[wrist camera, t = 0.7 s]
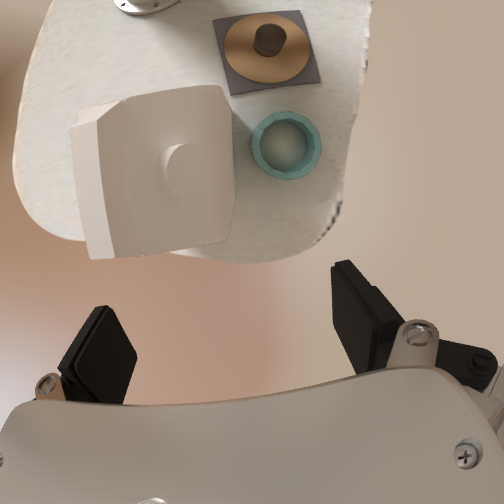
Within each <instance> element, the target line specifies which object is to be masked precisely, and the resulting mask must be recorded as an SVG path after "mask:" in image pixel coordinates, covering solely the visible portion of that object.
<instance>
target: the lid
mask: <svg viewBox="0 0 504 504" xmlns="http://www.w3.org/2000/svg"><path fill="white" fill-rule="evenodd" d="M224 51H225V56H226V59H227V61H228V63H229V64H230V66H231V67H232V68H233V69H234V70H235V71H236V72H237V73H238V74H240V75H241V76H243V77H244V78H246V79H248V80H251V81H254V82H258V83H265V84H273V83H280V82H283V81H287V80H289V79H291V78H293V77H294V76H296V75H297V74H298V73H299V72H300V71H301V70H302V69H303V68H304V66H305V65H306V63H307V61H308V58H309V43H308V40H307V38H306V36H305V34H304V32H303V31H302V30H301V29H300V28H299V27H298V26H297V25H296V24H295V23H293V22H292V21H290V20H289V19H287V18H284V17H282V16H279V15H275V14H267V13H262V14H254V15H250V16H247V17H245V18H242V19H241V20H239V21H238V22H236V23H235V24H234V25H233V26H232V27H231V28H230V29H229V31H228V33H227V35H226V37H225V42H224Z"/></svg>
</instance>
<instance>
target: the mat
mask: <svg viewBox="0 0 504 504" xmlns="http://www.w3.org/2000/svg"><path fill="white" fill-rule="evenodd" d="M265 13H267V14H275V15H279V16H282V17H284V18H287V19H289V20H290V21H292V22H293V23H295V24H296V25H297V26H298V27H299V28H300V29H301V30H302V31H303V32H304V34H305V36H306V38H307V40H308V43H309V58H308V61H307V63H306V65H305V66H304V68H303V69H302V70H301V71H300V72H299V73H298V74H297V75H296V76H294V77H293V78H291V79H289V80H287V81H283V82H280V83H273V84H265V83H258V82H254V81H251V80H248V79H246V78H244V77H243V76H241V75H240V74H238V73H237V72H236V71H235V70H234V69H233V68H232V67H231V66H230V64H229V63H228V61H227V59H226V56H225V51H224V42H225V37H226V35H227V33H228V31H229V29H230V28H231V27H232V26H233V25H234V24H235V23H236V22H238V21H239V20H241V19H242V18H245V17H247V16H250V15H254V14H248V15H241V16H235V17H229V18H223V19H218V20H213V24H214V28H215V32H216V36H217V40H218V44H219V48H220V52H221V57H222V61H223V65H224V69H225V73H226V78H227V82H228V86H229V90H230V95H235V94H240V93H246V92H251V91H257V90H263V89H269V88H276V87H283V86H291V85H300V84H310V83H320V78H319V74H318V70H317V66H316V62H315V58H314V55H313V51H312V48H311V44H310V41H309V38H308V34H307V31H306V28H305V25H304V22H303V19H302V16H301V13H300V10H294V11H276V12H265ZM256 14H262V13H256Z"/></svg>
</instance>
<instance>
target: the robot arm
mask: <svg viewBox="0 0 504 504" xmlns="http://www.w3.org/2000/svg"><path fill="white" fill-rule="evenodd" d="M178 1H179V0H114V3H115V4H116V6H117V7H118V8H119V9H120V10H122V11H123V12H125V13H128V14H134V15H143V14H149V13H154V12H157V11H160V10H163V9H165V8H167V7H169V6H171V5H173V4H175V3H177V2H178ZM331 285H332V310H333V325H334V328H335V330H336V332H337V334H338V336H339V338H340V341H341V343H342V345H343V347H344V349H345V351H346V353H347V355H348V357H349V360H350V362H351V364H352V366H353V368H354V370H355V372H356V375H354V376H349V377H346V378H341V379H337V380H334V381H329V382H325V383H321V384H317V385H312V386H308V387H303V388H298V389H294V390H288V391H283V392H278V393H272V394H267V395H260V396H254V397H247V398H240V399H231V400H223V401H213V402H201V403H188V404H164V405H124V404H123V401H124V398H125V395H126V392H127V388H128V386H129V382H130V379H131V376H132V373H133V371H134V368H135V364H136V362H137V353H136V351H135V350H134V348H133V346H132V344H131V343H130V341H129V339H128V337H127V335H126V334H125V332H124V330H123V328H122V326H121V324H120V322H119V320H118V318H117V317H116V314H115V312H114V310H113V309H111V308H110V307H109V306H107V305H105V306H98V307H95V308H94V310H93V311H92V313H91V314H90V316H89V318H88V319H87V320H86V322H85V323H84V325H83V326H82V328H81V329H80V331H79V333H78V334H77V336H76V337H75V339H74V341H73V342H72V344H71V345H70V347H69V349H68V350H67V352H66V354H65V356H64V357H63V359H62V360H61V362H60V364H59V366H58V370H59V371H60V372H61V374H62V375H61V377H60V376H59V375H58V374H56V373H49V374H47V375H45V376H44V377H42V378H41V379H40V380H39V381H38V383H37V385H36V388H35V394H36V398H35V399H33V400H31V401H28V402H25V403H22V404H20V405H18V406H17V407H15V408H14V409H13V411H12V412H11V413H10V415H9V417H8V419H7V420H6V422H5V424H4V426H3V428H2V430H1V432H0V504H504V365H503V366H502V367H500V366H498V362H497V359H496V357H495V356H494V355H493V354H492V353H491V352H490V351H489V350H487V349H484V348H479V347H475V346H470V345H465V344H460V343H455V342H450V341H446V340H442V339H439V332H438V330H437V328H436V327H435V326H434V325H433V324H432V323H429V322H428V321H425V320H418V319H415V320H410V321H407V322H405V321H404V319H403V318H402V317H401V315H400V314H399V313H398V312H397V311H396V309H395V308H394V307H393V306H392V304H391V303H390V302H389V301H388V300H387V299H386V297H385V296H384V295H383V294H382V293H381V291H380V290H379V289H378V288H377V287H376V286H372V285H371V284H370V283H369V282H368V281H367V280H366V278H365V277H364V276H363V275H362V274H361V272H359V270H358V269H357V268H356V267H355V266H354V264H353V263H352V262H351V261H350V260H344V261H340V262H336V263H335V266H334V267H331Z"/></svg>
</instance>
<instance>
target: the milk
mask: <svg viewBox="0 0 504 504" xmlns="http://www.w3.org/2000/svg"><path fill="white" fill-rule="evenodd" d="M71 146H72V158H73V168H74V177H75V185H76V192H77V198H78V204H79V210H80V216H81V221H82V226H83V231H84V235H85V240H86V244H87V248H88V252H89V257H90V259H108V258H125V257H139V256H140V254H141V255H144V256H147V255H153V254H158V253H164V252H169V251H175V250H181V249H187V248H192V247H198V246H204V245H209V244H214V243H218V242H221V241H224V240H226V239H227V238H228V236H229V232H230V227H231V221H232V216H233V211H234V205H235V200H236V194H235V175H234V154H233V132H232V110H231V107H230V105H229V103H228V101H227V99H226V97H225V94H224V92H223V90H222V88H221V87H220V86H217V85H202V86H192V87H184V88H177V89H170V90H164V91H158V92H152V93H147V94H142V95H137V96H132V97H128V98H124V99H119V100H115V101H111V102H108V103H104V104H100V105H97V106H93V107H90V108H87V109H83V110H80V111H79V113H78V119H77V123H76V124H75V125H73V126H72V127H71Z"/></svg>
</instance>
